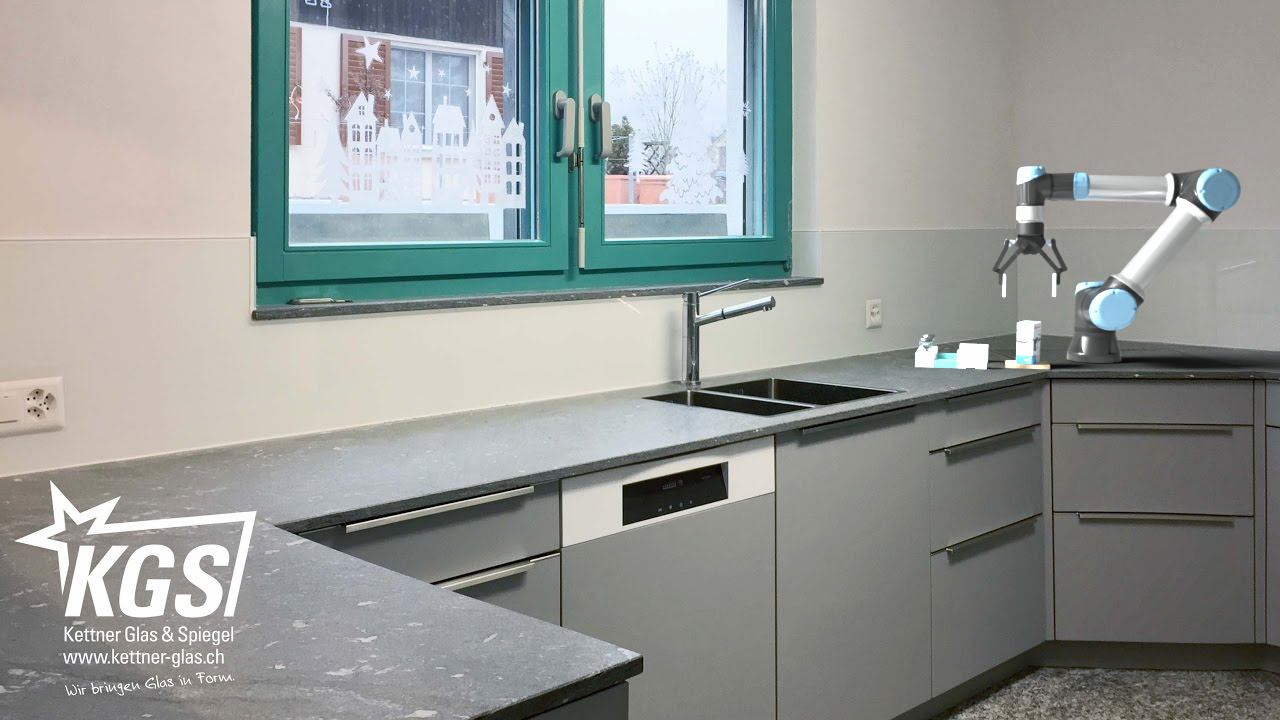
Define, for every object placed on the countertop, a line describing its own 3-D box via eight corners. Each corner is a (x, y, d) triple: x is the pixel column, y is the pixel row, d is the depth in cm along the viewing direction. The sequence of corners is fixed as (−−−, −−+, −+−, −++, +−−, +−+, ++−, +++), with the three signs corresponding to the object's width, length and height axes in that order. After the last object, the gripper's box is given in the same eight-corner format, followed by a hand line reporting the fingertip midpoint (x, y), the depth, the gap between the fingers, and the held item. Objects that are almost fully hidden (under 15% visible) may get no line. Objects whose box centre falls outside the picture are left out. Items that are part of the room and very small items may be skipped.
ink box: (1032, 365, 339) (1034, 323, 338) (1014, 363, 342) (1016, 322, 341) (1040, 361, 346) (1042, 321, 345) (1023, 360, 349) (1024, 320, 348)
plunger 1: (934, 357, 358) (935, 334, 358) (933, 358, 355) (934, 335, 354) (921, 357, 359) (922, 333, 359) (921, 358, 356) (921, 334, 355)
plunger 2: (932, 361, 349) (932, 337, 348) (931, 363, 346) (932, 338, 345) (919, 361, 350) (920, 337, 349) (918, 362, 347) (919, 338, 346)
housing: (987, 361, 357) (988, 344, 356) (986, 369, 339) (986, 351, 338) (920, 359, 362) (920, 342, 362) (915, 366, 344) (915, 349, 344)
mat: (1048, 365, 347) (1049, 361, 347) (1049, 369, 338) (1050, 365, 338) (1005, 363, 351) (1005, 360, 351) (1005, 367, 341) (1005, 364, 341)
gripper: (1075, 220, 342) (1073, 295, 345) (984, 222, 349) (983, 295, 351) (1078, 220, 335) (1076, 297, 338) (984, 222, 341) (983, 297, 344)
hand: (1028, 296), depth 344 cm, fingers open, 13 cm apart
